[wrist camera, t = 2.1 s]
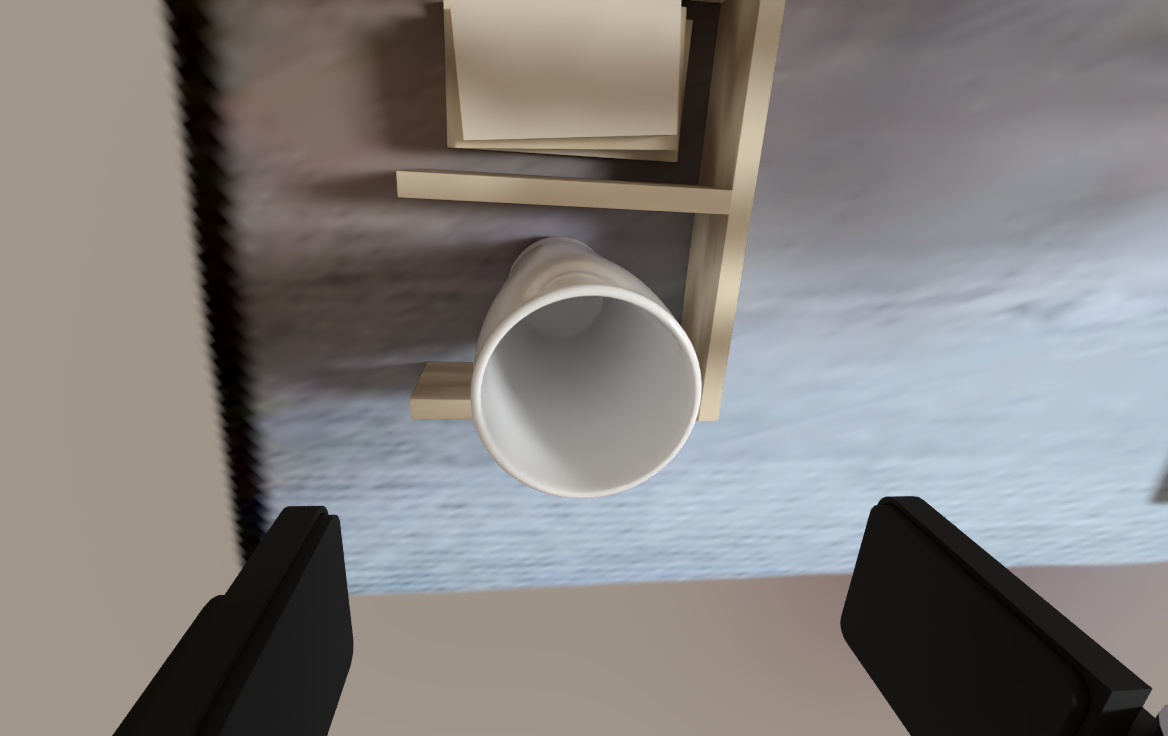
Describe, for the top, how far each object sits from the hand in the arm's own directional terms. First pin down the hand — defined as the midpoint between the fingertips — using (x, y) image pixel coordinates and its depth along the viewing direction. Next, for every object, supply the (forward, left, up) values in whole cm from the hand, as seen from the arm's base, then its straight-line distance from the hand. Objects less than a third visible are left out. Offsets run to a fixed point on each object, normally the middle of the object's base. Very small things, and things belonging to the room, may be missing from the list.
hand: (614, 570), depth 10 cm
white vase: (0, 0, -22) cm, 22 cm away
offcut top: (-10, 0, -19) cm, 21 cm away
